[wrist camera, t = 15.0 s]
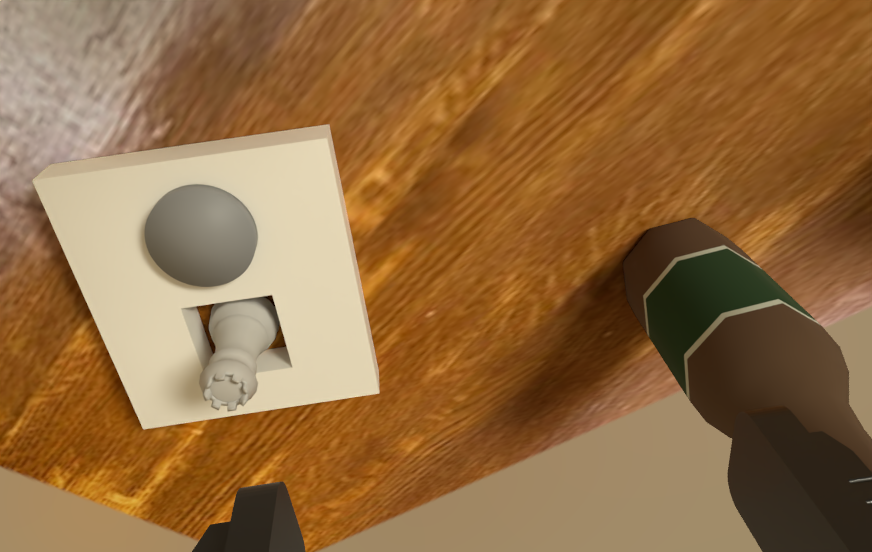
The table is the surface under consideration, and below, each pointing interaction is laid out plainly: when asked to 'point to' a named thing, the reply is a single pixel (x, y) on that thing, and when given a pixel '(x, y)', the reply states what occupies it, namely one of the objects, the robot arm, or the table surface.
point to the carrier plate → (217, 266)
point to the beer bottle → (737, 334)
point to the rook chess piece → (237, 350)
